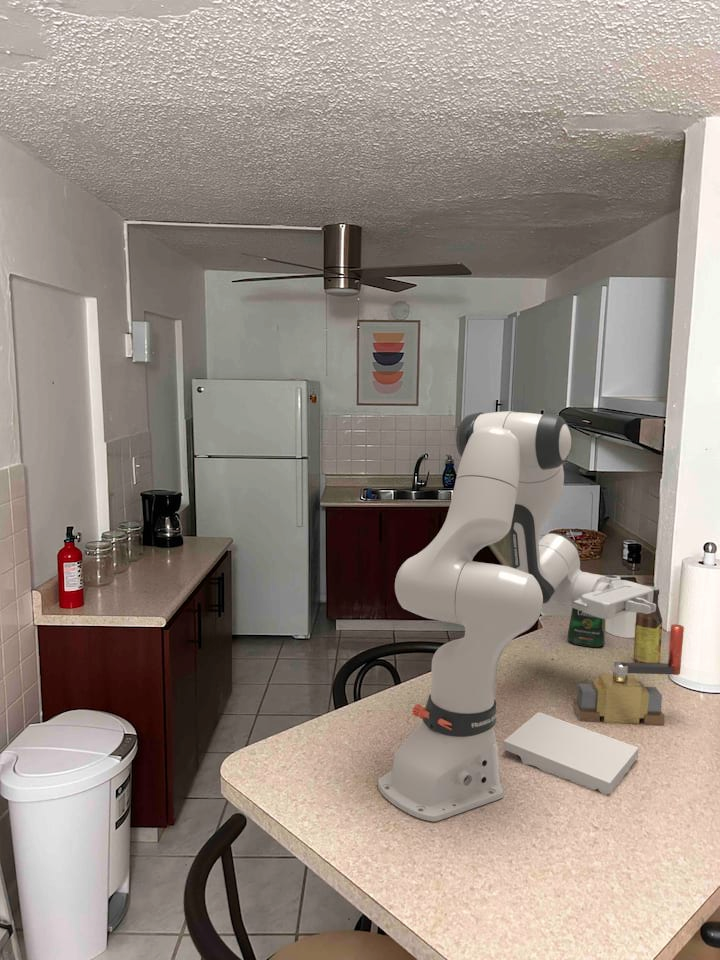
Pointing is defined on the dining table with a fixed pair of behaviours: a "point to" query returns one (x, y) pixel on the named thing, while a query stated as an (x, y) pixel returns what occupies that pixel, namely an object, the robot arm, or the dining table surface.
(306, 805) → the dining table surface
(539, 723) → the light grey flat slab
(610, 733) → the dining table surface
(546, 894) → the dining table surface
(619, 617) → the toilet paper
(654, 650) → the sauce bottle
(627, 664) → the valve lever
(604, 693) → the ball valve
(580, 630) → the coffee jar
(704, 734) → the dining table surface
